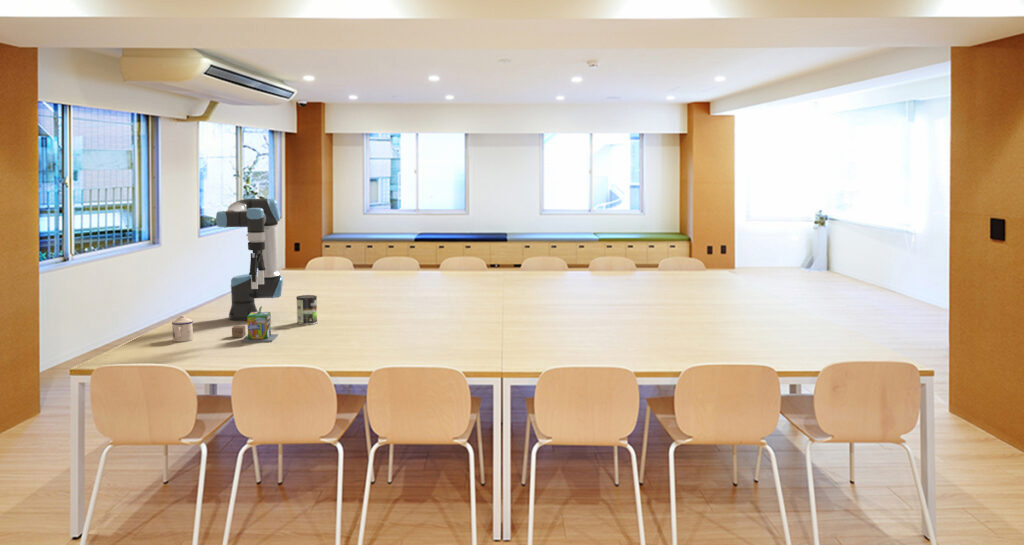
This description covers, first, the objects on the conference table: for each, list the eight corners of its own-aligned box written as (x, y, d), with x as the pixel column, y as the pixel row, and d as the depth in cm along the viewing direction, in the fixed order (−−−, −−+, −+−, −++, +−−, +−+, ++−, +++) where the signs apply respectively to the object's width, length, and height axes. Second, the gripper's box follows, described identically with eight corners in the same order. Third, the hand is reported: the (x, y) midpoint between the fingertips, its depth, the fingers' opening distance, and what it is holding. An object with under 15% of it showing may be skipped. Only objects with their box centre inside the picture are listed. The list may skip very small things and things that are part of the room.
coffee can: (320, 321, 414) (320, 295, 412) (312, 325, 404) (311, 298, 402) (302, 320, 416) (301, 294, 414) (293, 324, 406) (292, 297, 404)
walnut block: (235, 335, 378) (234, 325, 377) (245, 335, 378) (245, 325, 377) (232, 338, 373) (231, 327, 372) (243, 338, 373) (242, 327, 373)
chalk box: (251, 335, 374) (250, 304, 372) (271, 335, 375) (270, 304, 373) (247, 339, 365) (246, 308, 363) (267, 339, 366) (266, 308, 364)
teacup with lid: (175, 338, 371) (174, 313, 370) (195, 337, 373) (194, 313, 371) (168, 343, 360) (167, 318, 358) (189, 343, 361) (188, 318, 359)
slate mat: (248, 336, 377) (248, 334, 377) (277, 335, 378) (277, 334, 378) (240, 342, 363) (240, 340, 363) (271, 342, 364) (271, 340, 364)
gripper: (254, 238, 377) (255, 282, 379) (241, 244, 352) (243, 290, 355) (270, 238, 377) (271, 282, 380) (258, 244, 353) (260, 290, 356)
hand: (257, 286), depth 368 cm, fingers open, 13 cm apart
